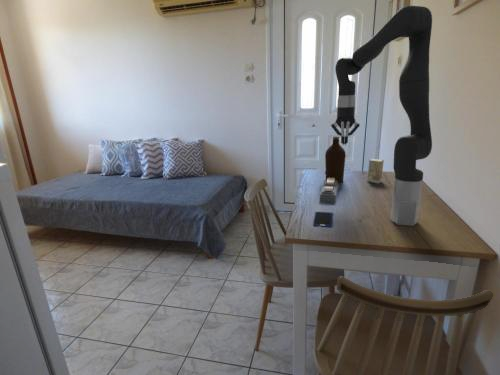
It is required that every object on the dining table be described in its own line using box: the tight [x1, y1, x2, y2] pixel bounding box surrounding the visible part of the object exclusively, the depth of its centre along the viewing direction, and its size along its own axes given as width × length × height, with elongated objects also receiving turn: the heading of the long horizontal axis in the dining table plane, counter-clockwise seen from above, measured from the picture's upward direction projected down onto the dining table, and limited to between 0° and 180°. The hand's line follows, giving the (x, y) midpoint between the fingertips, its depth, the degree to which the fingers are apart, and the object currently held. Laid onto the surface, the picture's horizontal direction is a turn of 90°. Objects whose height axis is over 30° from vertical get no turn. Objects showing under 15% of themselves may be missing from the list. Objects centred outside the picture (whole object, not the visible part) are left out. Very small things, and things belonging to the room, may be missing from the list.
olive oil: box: [324, 136, 346, 185], centre depth 164 cm, size 11×11×25 cm
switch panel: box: [319, 179, 339, 203], centre depth 149 cm, size 22×7×4 cm, turn 161°
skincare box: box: [366, 158, 384, 184], centre depth 163 cm, size 6×4×12 cm
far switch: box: [327, 178, 335, 184], centre depth 154 cm, size 5×4×1 cm
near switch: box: [324, 186, 333, 191], centre depth 143 cm, size 5×4×1 cm
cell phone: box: [312, 211, 334, 228], centre depth 122 cm, size 7×14×1 cm, turn 164°
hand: (344, 144), depth 140 cm, fingers closed
